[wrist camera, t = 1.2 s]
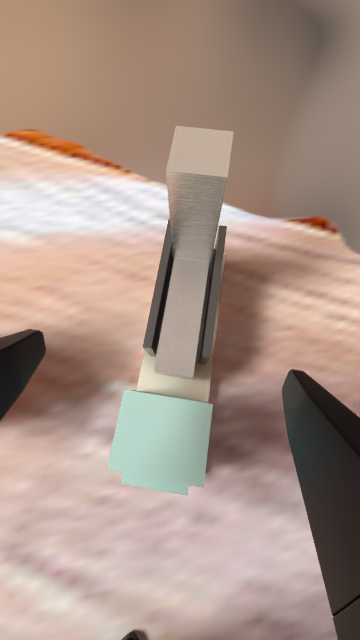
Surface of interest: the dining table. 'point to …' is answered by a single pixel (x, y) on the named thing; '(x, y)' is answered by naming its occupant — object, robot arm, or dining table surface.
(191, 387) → the base board
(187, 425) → the socket
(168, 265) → the sleeve
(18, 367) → the robot arm
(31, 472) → the dining table surface
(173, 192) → the light grey l-shaped piece
